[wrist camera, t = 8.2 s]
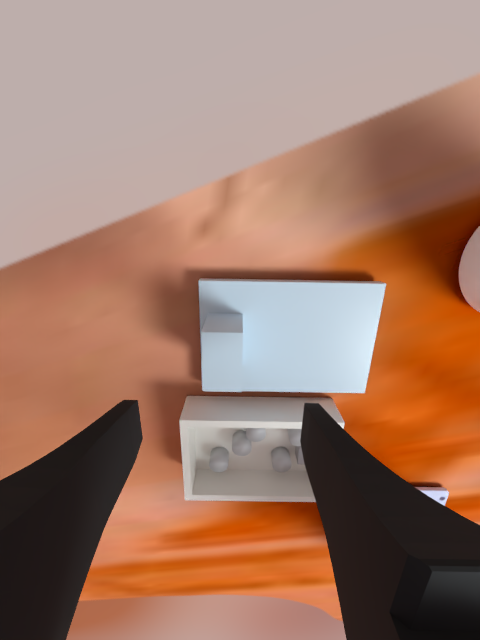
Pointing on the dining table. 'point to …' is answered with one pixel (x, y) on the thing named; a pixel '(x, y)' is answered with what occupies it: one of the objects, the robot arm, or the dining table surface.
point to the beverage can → (471, 271)
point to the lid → (287, 334)
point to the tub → (246, 448)
